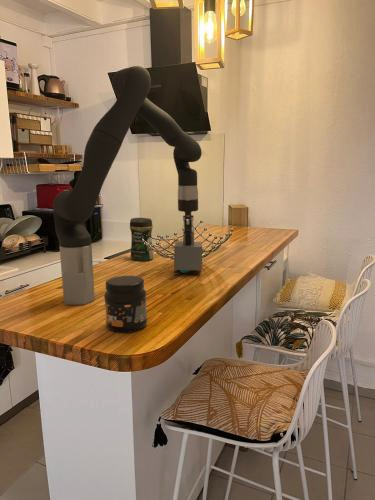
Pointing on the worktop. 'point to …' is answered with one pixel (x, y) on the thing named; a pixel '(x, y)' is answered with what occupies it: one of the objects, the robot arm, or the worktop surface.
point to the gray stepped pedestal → (188, 254)
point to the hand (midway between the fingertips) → (188, 243)
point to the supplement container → (125, 303)
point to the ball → (184, 271)
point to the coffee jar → (137, 245)
